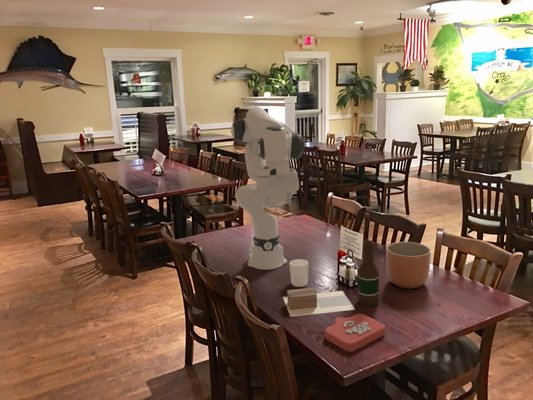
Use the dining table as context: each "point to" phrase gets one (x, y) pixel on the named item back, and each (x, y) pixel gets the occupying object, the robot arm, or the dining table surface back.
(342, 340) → the plaque
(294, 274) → the white cup
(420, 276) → the planter
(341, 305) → the board
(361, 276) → the beer bottle
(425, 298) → the dining table surface
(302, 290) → the walnut bar
